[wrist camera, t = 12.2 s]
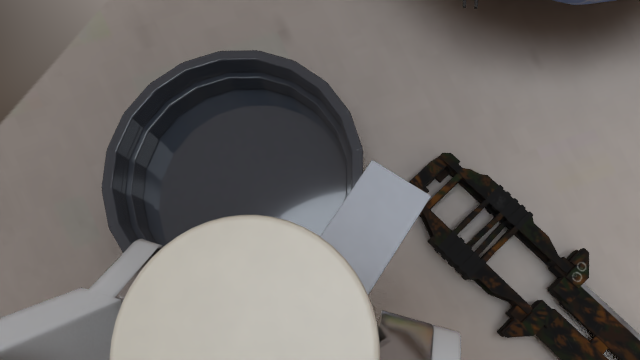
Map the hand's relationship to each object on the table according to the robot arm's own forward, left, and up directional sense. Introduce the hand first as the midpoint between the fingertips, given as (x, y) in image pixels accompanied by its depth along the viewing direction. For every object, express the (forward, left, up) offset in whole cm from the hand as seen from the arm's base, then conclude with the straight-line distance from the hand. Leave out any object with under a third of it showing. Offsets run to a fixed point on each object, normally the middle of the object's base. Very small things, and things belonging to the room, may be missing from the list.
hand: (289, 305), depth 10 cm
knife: (+11, -9, -20) cm, 24 cm away
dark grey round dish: (0, +9, -19) cm, 21 cm away
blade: (0, 0, -4) cm, 4 cm away
